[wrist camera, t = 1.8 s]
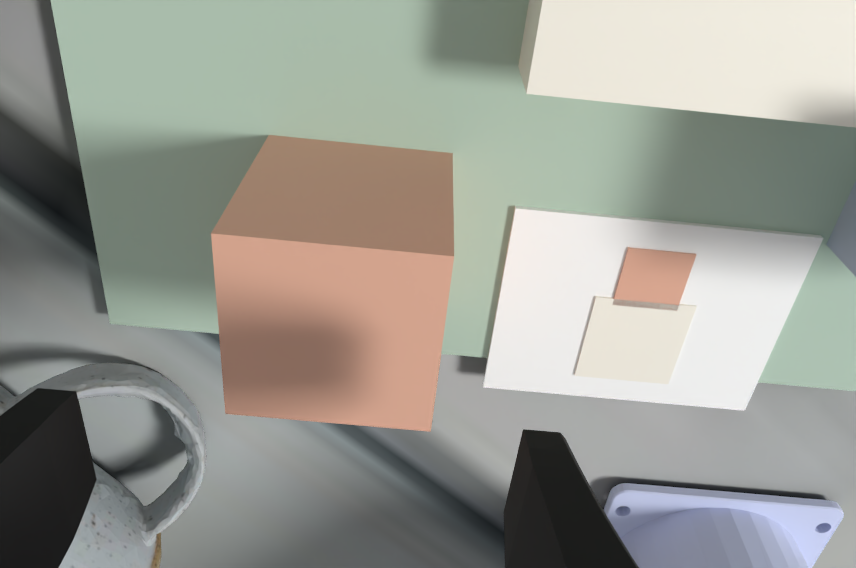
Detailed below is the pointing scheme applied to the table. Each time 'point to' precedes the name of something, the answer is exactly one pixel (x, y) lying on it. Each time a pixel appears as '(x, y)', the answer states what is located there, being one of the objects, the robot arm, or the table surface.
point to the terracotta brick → (335, 283)
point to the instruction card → (642, 307)
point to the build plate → (423, 130)
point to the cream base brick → (698, 55)
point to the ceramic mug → (110, 501)
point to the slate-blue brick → (846, 233)
